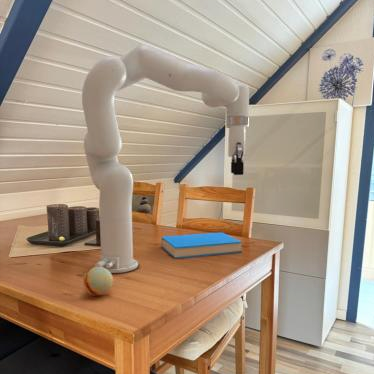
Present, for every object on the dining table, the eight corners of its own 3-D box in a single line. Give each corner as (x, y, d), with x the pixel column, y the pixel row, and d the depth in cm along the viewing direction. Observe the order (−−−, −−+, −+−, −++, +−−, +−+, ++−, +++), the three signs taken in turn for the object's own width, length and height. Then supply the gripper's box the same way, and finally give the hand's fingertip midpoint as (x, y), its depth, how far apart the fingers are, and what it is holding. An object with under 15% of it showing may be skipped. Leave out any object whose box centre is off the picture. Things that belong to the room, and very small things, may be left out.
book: (242, 241, 124) (175, 246, 115) (241, 253, 125) (175, 259, 116) (221, 231, 140) (160, 235, 131) (220, 242, 141) (160, 246, 132)
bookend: (105, 246, 132) (104, 220, 130) (84, 244, 134) (83, 219, 132) (122, 238, 145) (122, 214, 143) (103, 237, 147) (102, 213, 146)
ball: (118, 294, 86) (118, 267, 85) (93, 303, 81) (92, 274, 80) (103, 287, 91) (102, 261, 89) (78, 294, 86) (77, 267, 85)
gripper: (224, 125, 127) (224, 172, 130) (228, 120, 110) (228, 175, 113) (245, 124, 126) (244, 172, 129) (252, 120, 109) (251, 175, 113)
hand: (237, 173), depth 121 cm, fingers open, 9 cm apart
